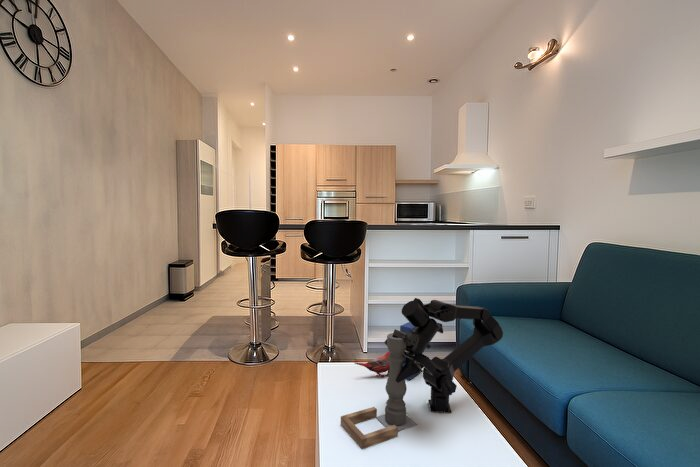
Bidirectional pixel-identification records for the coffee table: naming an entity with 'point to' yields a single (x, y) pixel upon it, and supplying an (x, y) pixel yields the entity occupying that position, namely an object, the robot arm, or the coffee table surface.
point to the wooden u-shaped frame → (369, 438)
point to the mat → (407, 424)
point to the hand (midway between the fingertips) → (392, 378)
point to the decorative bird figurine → (378, 365)
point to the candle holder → (396, 391)
